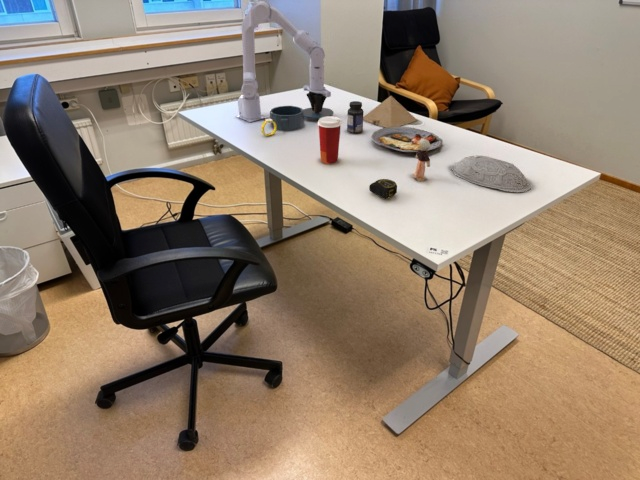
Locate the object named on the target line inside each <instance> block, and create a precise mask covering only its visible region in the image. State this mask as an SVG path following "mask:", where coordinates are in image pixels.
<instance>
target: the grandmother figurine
mask: <svg viewBox="0 0 640 480" xmlns="http://www.w3.org/2000/svg"><path fill="white" fill-rule="evenodd" d="M430 146H431V145H430V143H429V141H428V140H426V139H421V140H420V145H419V149H420V150H418V152H416V154H415V159H416V160H417V163H416V167H415V171H414V173H412V176H411V177H412V178H415V179H416V181H417V182H424V181H425V180H426V178H425V173H426V167H427V168H430V167H431V159H430V157H429V154H428V152H427V151H426V150H427V148H429V147H430Z"/></svg>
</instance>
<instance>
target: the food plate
mask: <svg viewBox="0 0 640 480" xmlns="http://www.w3.org/2000/svg"><path fill="white" fill-rule="evenodd" d="M370 138H371V140H372V141H373V143H375V144H377V145H379V146H383V147H385V148H387V149H391V150H393V151H394V150H395V151H396V152H402V153H409V154H410V153H411V154H412V153H417V152H418V150H420V149H419V145H420V140H421V139H426V140H428V141H429V143H430V145H431V146H430V147H429V148H427V150H426V151H427V153H428V152H431V151H433V150H434V151H435V150H437V149H439V148H441V147H442V146H443V139H442V138H441V137H440V136H438V135H436V134H435V133H433V132H430V131H426V130H424V129H419V128H416V127H409V126H400V127H389V128H385V127H382V128H380V129H377V130H375V131H373V132H372V134H371V136H370Z"/></svg>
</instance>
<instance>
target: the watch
mask: <svg viewBox="0 0 640 480" xmlns="http://www.w3.org/2000/svg"><path fill="white" fill-rule="evenodd" d="M271 122H273V124H274V129H273V130H272V131H271V133H266V132H265V126H266V125H267V124H269V123H270V124H271ZM276 129H277V126H276V123H275V122H274V121H273V120H272V119H270V118H264V121H263V122H262V124H261V128H260V130H261V131H260V132H261V133H262V134H263V135H264V136H265V137H269V136H274V135H275V134H276V131H277V130H276Z"/></svg>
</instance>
